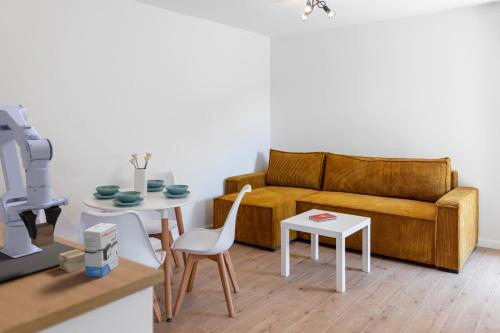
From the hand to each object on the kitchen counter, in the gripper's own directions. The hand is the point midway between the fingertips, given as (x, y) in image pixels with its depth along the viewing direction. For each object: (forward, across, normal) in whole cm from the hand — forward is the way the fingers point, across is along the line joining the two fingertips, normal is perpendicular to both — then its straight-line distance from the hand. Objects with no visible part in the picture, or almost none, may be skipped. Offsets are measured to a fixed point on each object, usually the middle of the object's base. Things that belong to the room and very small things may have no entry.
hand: (41, 236), depth 106 cm
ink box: (+9, +8, -14) cm, 19 cm away
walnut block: (+2, 0, 0) cm, 2 cm away
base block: (+9, +5, -6) cm, 12 cm away
